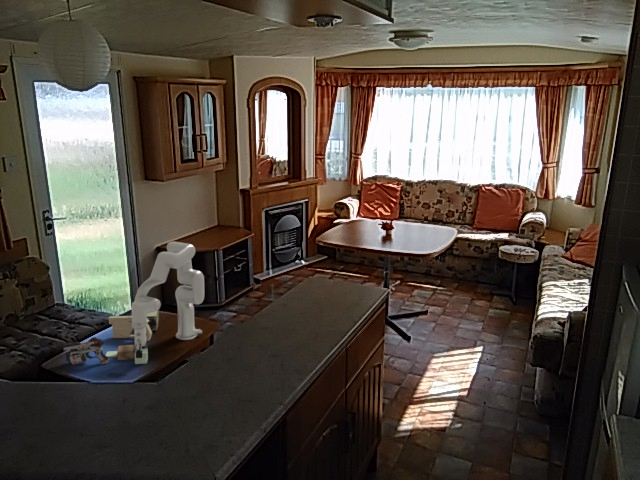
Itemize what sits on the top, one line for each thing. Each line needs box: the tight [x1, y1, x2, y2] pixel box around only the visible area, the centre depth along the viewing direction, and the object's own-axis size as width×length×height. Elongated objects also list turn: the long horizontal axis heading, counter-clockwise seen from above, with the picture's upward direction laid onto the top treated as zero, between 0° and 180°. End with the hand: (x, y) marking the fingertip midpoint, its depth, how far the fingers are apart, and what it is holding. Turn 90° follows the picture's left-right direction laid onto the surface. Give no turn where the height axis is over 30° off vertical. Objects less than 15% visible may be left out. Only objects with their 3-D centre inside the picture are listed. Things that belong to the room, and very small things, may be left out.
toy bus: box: [147, 308, 160, 332], centre depth 330 cm, size 10×23×10 cm, turn 14°
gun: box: [108, 315, 153, 342], centre depth 309 cm, size 24×3×15 cm, turn 84°
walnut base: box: [116, 344, 135, 361], centre depth 288 cm, size 8×8×5 cm
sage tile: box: [105, 350, 118, 358], centre depth 289 cm, size 6×6×1 cm
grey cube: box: [133, 339, 148, 352], centre depth 295 cm, size 6×6×6 cm
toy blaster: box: [62, 336, 110, 365], centre depth 277 cm, size 4×21×15 cm, turn 95°
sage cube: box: [134, 347, 149, 365], centre depth 283 cm, size 6×6×6 cm
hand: (140, 353), depth 282 cm, fingers open, 9 cm apart
